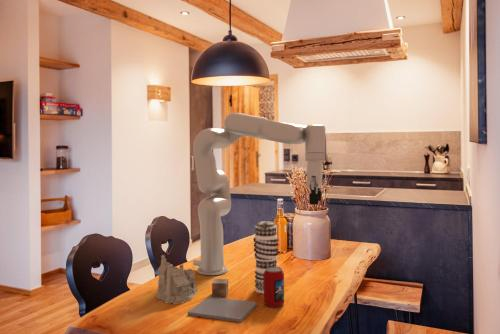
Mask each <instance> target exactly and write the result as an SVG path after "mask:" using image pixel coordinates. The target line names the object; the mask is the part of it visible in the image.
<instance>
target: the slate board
mask: <svg viewBox="0 0 500 334" xmlns="http://www.w3.org/2000/svg"><path fill="white" fill-rule="evenodd" d="M257 306H258V302H257V301H249V300H241V299H233V298H232V299H231V298H227V297H212V296H210V295H209V296H207V297H206V298H204V299H203V300H202V301H200V302H199V303H197V304H196V305H195V306H193V307H192V308H191V309H189V310H188V311H187V316H191V315H194V316H193V317H198V316H201V317H200V318H205V317H206V318H205V319H212V318H213V320H220V321H227V320H228V321H229V322H234V321H235V323H242V322H243V321H244V320H245V319H246V318H247V317H248V316H249V315H250V313H252V312H253V310H254V309H255V308H256V307H257Z"/></svg>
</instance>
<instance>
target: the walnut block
mask: <svg viewBox="0 0 500 334" xmlns="http://www.w3.org/2000/svg"><path fill="white" fill-rule="evenodd" d="M228 294H229V279H228V278H214V279H213V281H212V282H211V297H219V298H227V297H228Z"/></svg>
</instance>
